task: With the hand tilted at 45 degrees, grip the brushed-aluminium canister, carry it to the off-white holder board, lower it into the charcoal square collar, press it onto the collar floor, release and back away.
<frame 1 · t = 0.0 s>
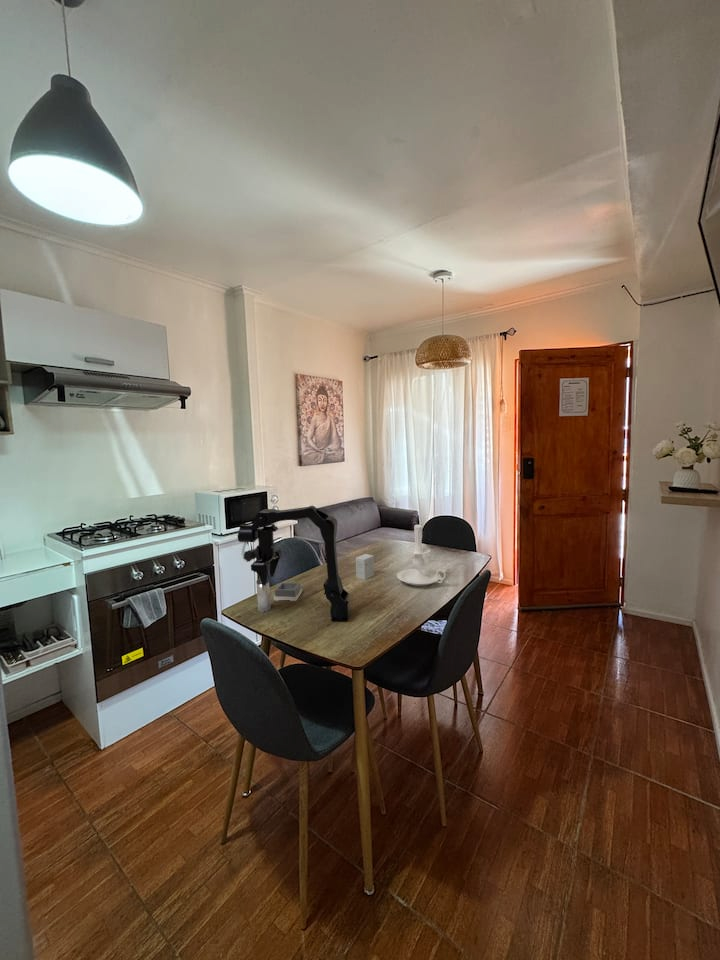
hand: (268, 580, 158), 15 cm above the table, tool pointing down, fingers open, 9 cm apart
candlestick: (422, 583, 190), on the table
holder: (288, 595, 179), on the table
canister: (264, 609, 166), on the table
small box: (365, 577, 200), on the table
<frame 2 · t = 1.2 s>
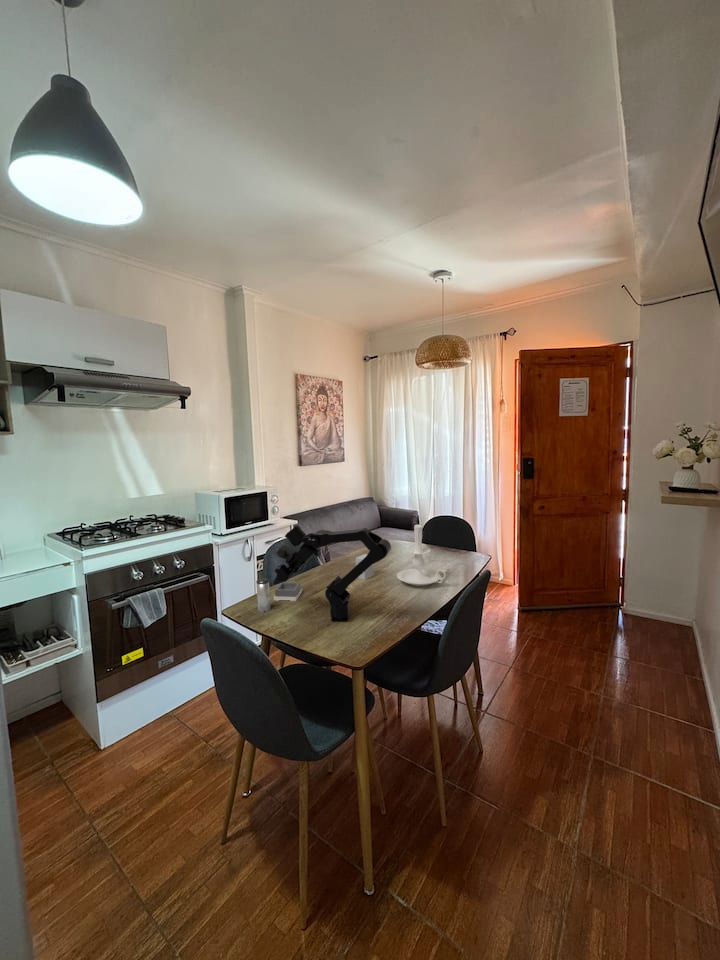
hand: (279, 579, 162), 13 cm above the table, tool tilted 45°, fingers open, 9 cm apart
nothing on the table moved.
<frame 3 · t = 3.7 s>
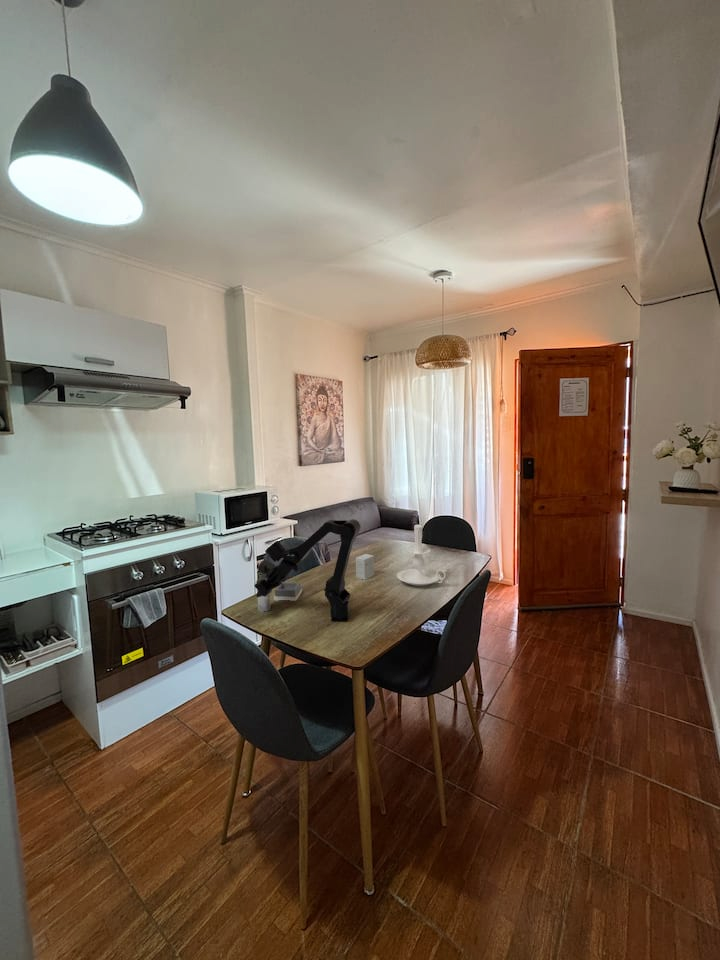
hand: (260, 593, 166), 7 cm above the table, tool tilted 45°, fingers closed on canister, 5 cm apart
canister: (264, 609, 166), on the table, touching gripper
everything else where it was.
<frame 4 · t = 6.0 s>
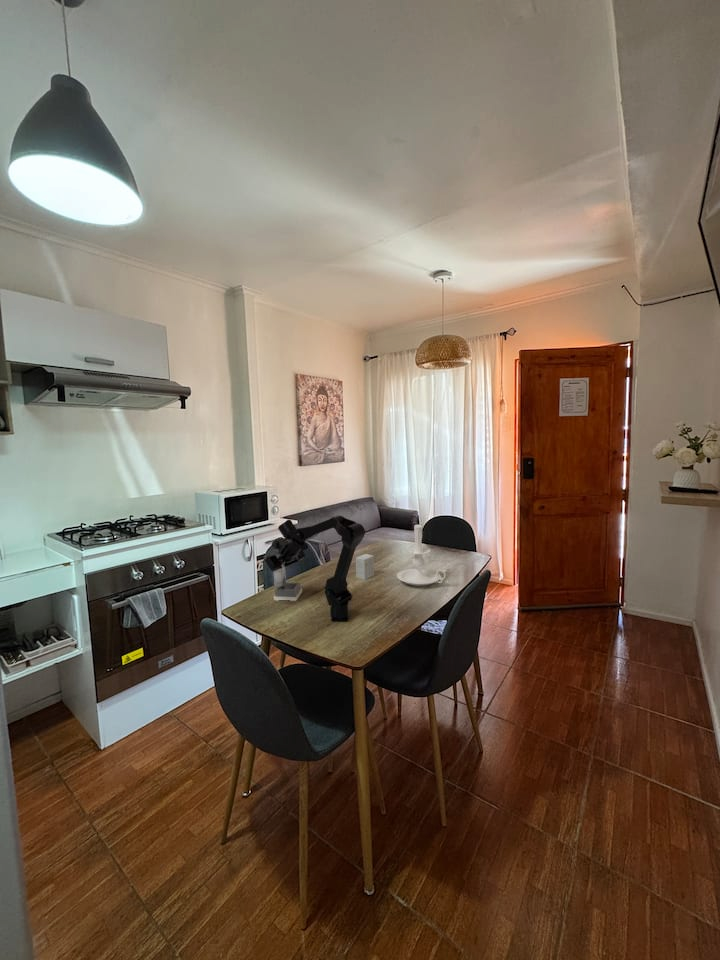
hand: (277, 568, 175), 13 cm above the table, tool tilted 45°, fingers closed on canister, 5 cm apart
canister: (280, 584, 175), point 7 cm above the table, touching gripper
everything else where it was.
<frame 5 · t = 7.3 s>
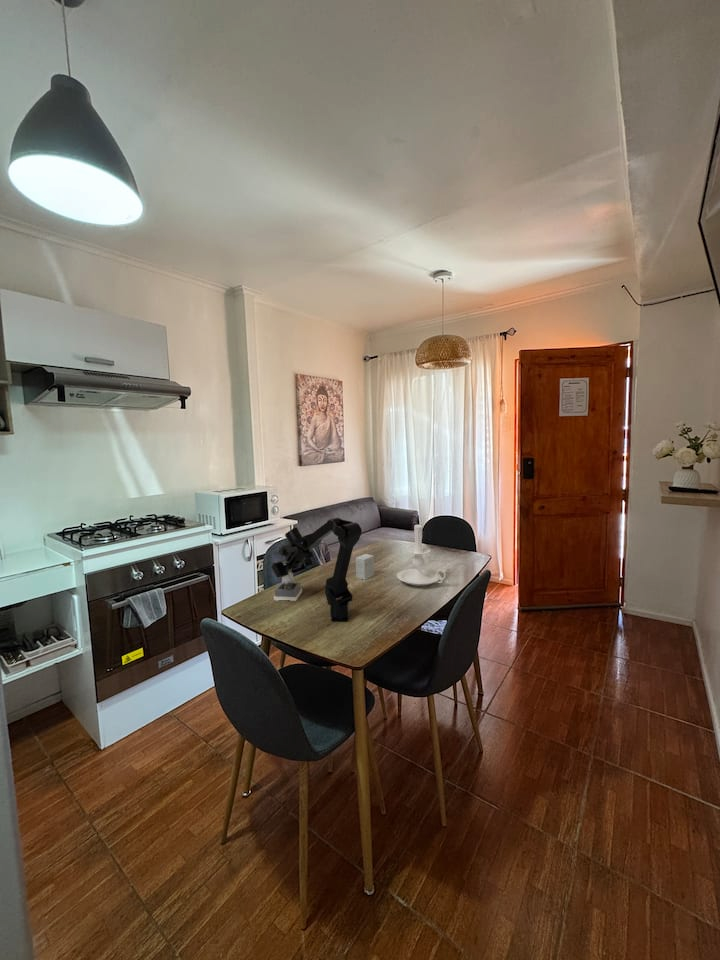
hand: (285, 574, 179), 9 cm above the table, tool tilted 45°, fingers closed on canister, 5 cm apart
canister: (288, 589, 179), point 3 cm above the table, touching gripper
everything else where it was.
when the fingers open (8 cm above the table, at t = 8.2 s): canister stays where it is, resting on holder.
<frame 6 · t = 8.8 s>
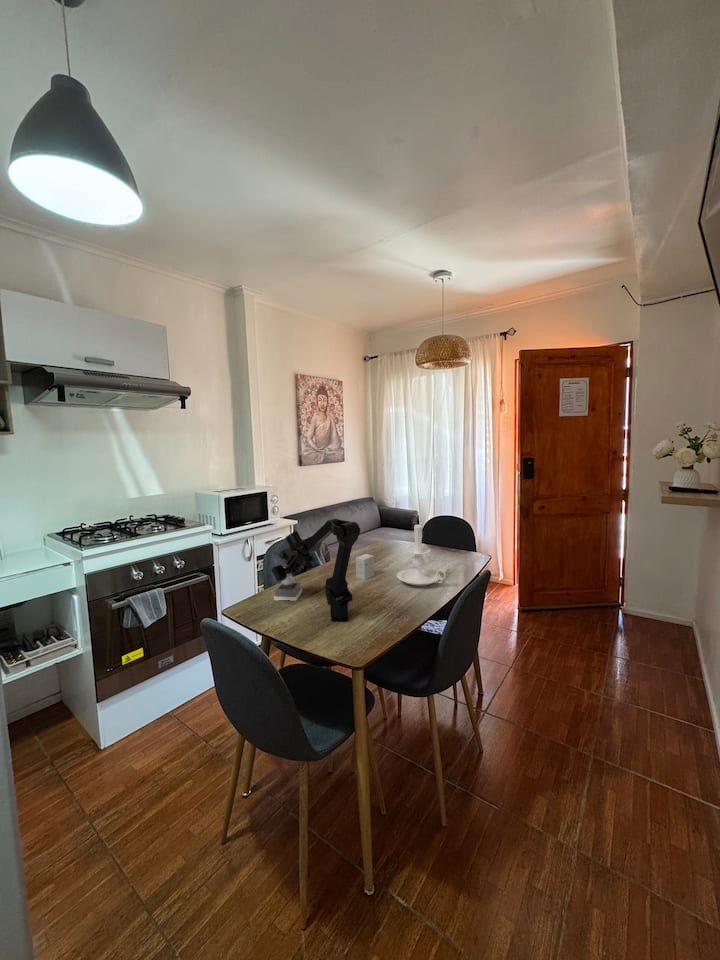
hand: (285, 578, 179), 8 cm above the table, tool tilted 45°, fingers open, 9 cm apart
canister: (288, 592, 179), point 1 cm above the table, touching holder
everything else where it was.
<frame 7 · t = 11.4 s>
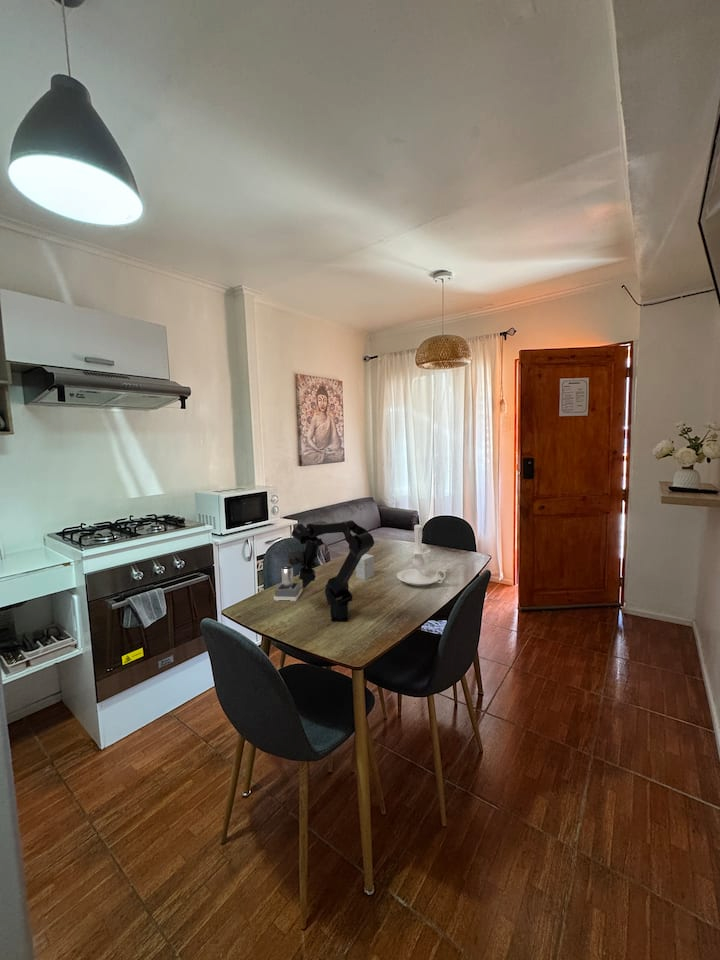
hand: (304, 580, 170), 10 cm above the table, tool tilted 20°, fingers open, 9 cm apart
nothing on the table moved.
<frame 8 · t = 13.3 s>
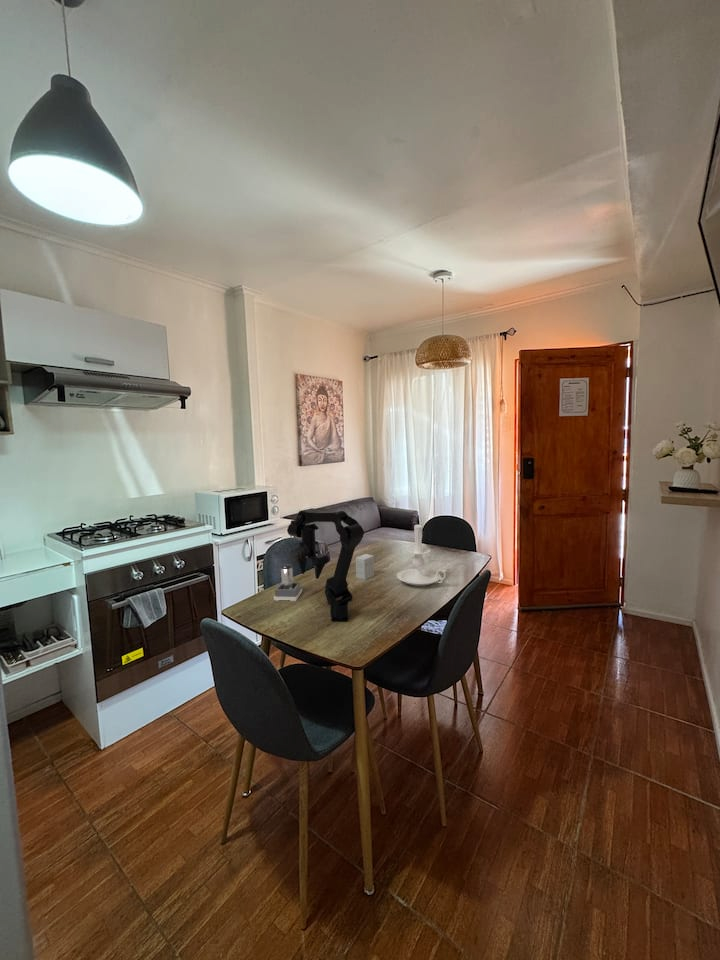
hand: (310, 576, 166), 13 cm above the table, tool pointing down, fingers open, 9 cm apart
nothing on the table moved.
at the end: canister 0.1 cm off-centre on the holder, point 1.5 cm above the holder's base; canister tilted 1°; the gripper is holding nothing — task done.
